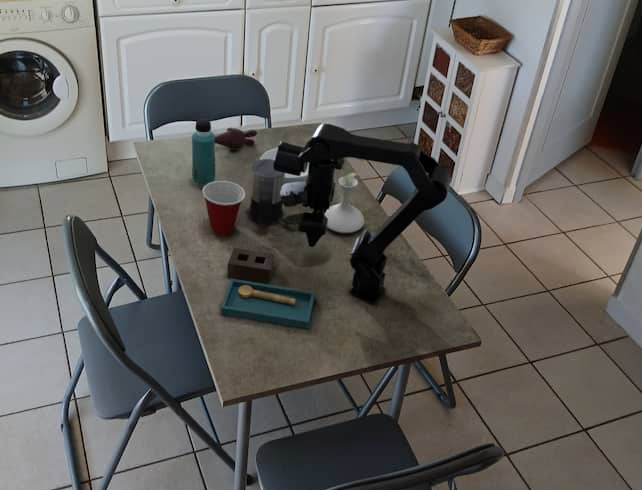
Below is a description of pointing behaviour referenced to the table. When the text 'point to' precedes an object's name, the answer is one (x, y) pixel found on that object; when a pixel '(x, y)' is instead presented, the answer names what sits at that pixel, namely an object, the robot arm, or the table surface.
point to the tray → (269, 304)
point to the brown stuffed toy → (235, 138)
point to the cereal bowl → (288, 177)
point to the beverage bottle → (203, 153)
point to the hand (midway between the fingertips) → (314, 234)
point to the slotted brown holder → (251, 265)
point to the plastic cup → (223, 205)
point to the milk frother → (267, 194)
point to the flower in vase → (345, 208)
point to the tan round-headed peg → (264, 295)
